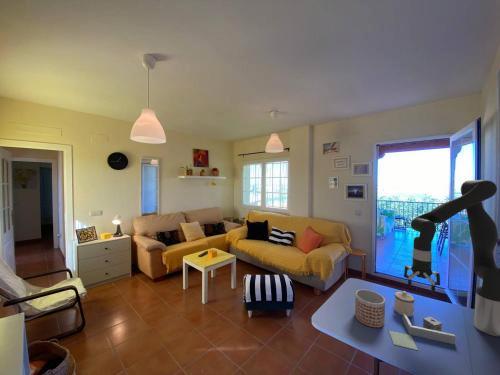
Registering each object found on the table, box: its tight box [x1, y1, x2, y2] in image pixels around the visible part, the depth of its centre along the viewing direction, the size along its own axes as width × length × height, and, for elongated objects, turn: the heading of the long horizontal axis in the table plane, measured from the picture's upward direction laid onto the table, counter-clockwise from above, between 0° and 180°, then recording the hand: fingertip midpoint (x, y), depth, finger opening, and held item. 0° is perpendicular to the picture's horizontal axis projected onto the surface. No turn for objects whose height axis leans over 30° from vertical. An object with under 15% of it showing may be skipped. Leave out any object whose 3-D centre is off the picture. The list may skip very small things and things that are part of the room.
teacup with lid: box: [394, 290, 416, 318], centre depth 119 cm, size 12×9×12 cm
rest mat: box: [388, 330, 419, 351], centre depth 97 cm, size 9×9×1 cm
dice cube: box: [422, 316, 443, 332], centre depth 104 cm, size 5×5×5 cm
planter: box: [354, 288, 386, 329], centre depth 112 cm, size 14×14×13 cm
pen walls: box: [402, 313, 457, 345], centre depth 103 cm, size 17×11×4 cm, turn 69°
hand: (420, 288), depth 107 cm, fingers open, 8 cm apart
